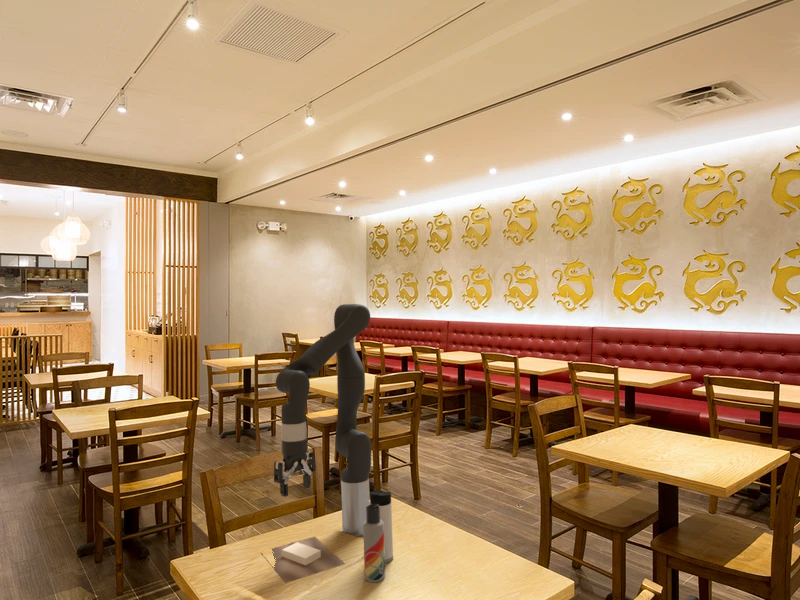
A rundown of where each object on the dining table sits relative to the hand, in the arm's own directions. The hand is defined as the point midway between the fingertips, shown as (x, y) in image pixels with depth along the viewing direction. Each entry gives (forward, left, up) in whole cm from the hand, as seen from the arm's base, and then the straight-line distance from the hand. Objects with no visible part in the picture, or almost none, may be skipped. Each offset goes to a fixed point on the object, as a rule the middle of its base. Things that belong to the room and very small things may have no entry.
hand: (296, 491), depth 160 cm
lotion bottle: (-13, +23, -20) cm, 33 cm away
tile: (+1, -3, -18) cm, 18 cm away
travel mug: (-20, +15, -20) cm, 32 cm away
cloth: (0, +2, -20) cm, 20 cm away
